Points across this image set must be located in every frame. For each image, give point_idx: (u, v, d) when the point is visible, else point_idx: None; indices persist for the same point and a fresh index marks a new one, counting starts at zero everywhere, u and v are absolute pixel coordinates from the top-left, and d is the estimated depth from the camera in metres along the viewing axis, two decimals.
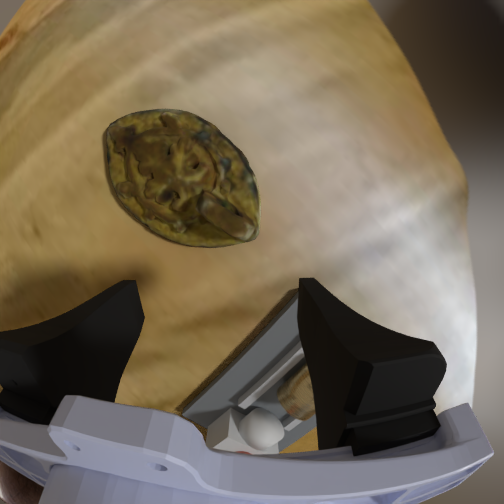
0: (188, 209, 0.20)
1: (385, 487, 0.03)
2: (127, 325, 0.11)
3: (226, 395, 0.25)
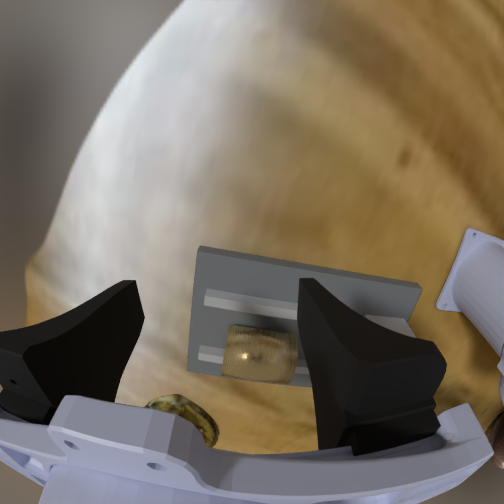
0: None
1: (385, 487, 0.03)
2: (127, 325, 0.11)
3: None
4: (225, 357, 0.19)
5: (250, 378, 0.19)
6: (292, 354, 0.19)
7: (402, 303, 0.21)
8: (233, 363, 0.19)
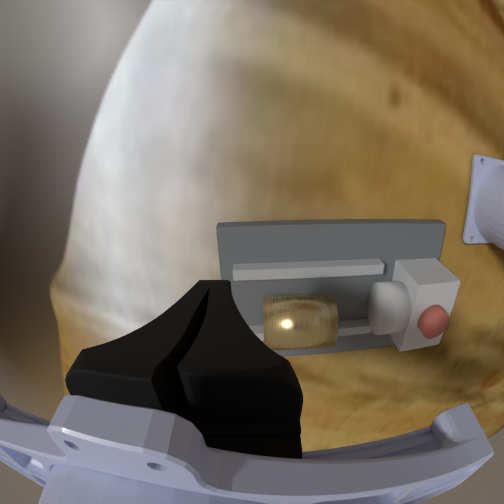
0: None
1: (385, 487, 0.03)
2: None
3: (369, 335, 0.24)
4: (265, 328, 0.19)
5: (294, 346, 0.19)
6: (332, 311, 0.19)
7: (430, 242, 0.20)
8: (274, 333, 0.19)
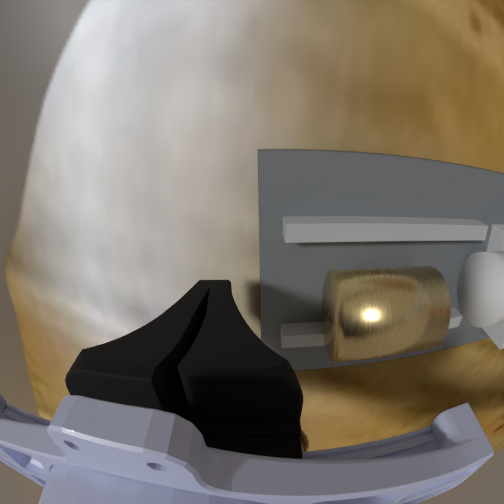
0: None
1: (385, 487, 0.03)
2: None
3: (449, 331, 0.15)
4: (347, 322, 0.10)
5: (386, 351, 0.10)
6: (442, 291, 0.10)
7: None
8: (361, 331, 0.10)
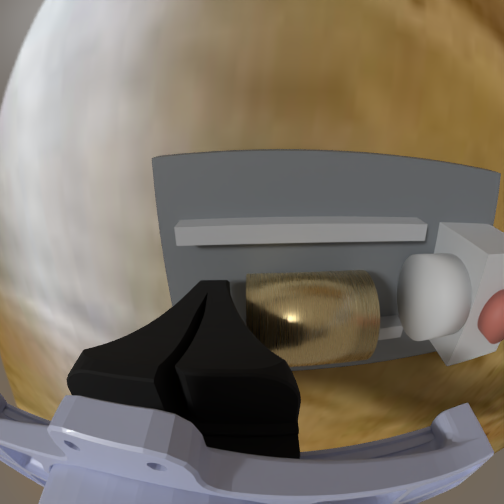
0: None
1: (385, 487, 0.03)
2: None
3: (395, 340, 0.15)
4: None
5: (302, 361, 0.11)
6: (369, 300, 0.10)
7: (483, 198, 0.12)
8: (265, 338, 0.10)
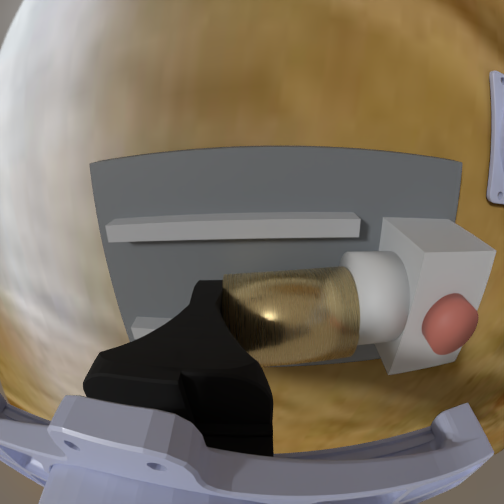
0: None
1: (385, 487, 0.03)
2: None
3: None
4: None
5: (282, 361, 0.11)
6: (348, 296, 0.10)
7: (439, 190, 0.12)
8: (243, 339, 0.10)
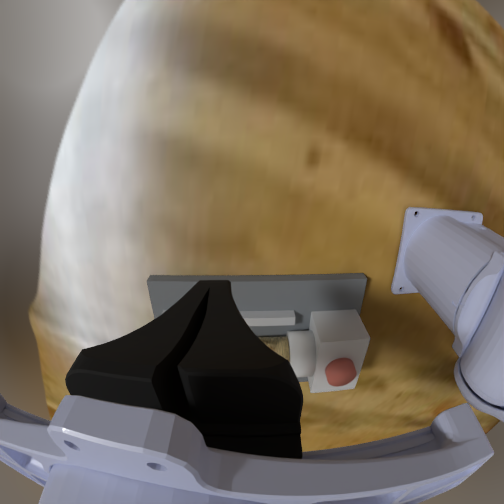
0: None
1: (385, 487, 0.03)
2: None
3: None
4: None
5: None
6: (284, 354, 0.22)
7: (348, 295, 0.23)
8: None
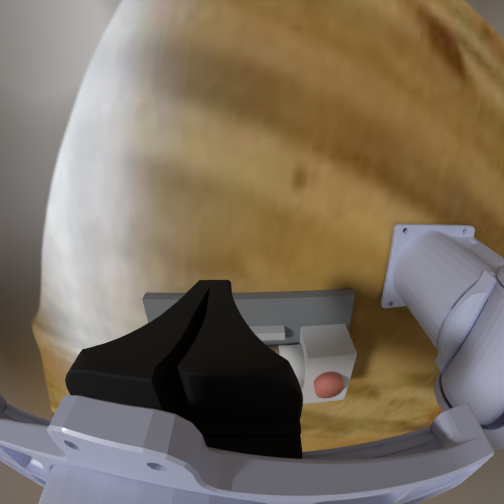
0: None
1: (385, 487, 0.03)
2: None
3: None
4: None
5: None
6: None
7: (337, 311, 0.24)
8: None
